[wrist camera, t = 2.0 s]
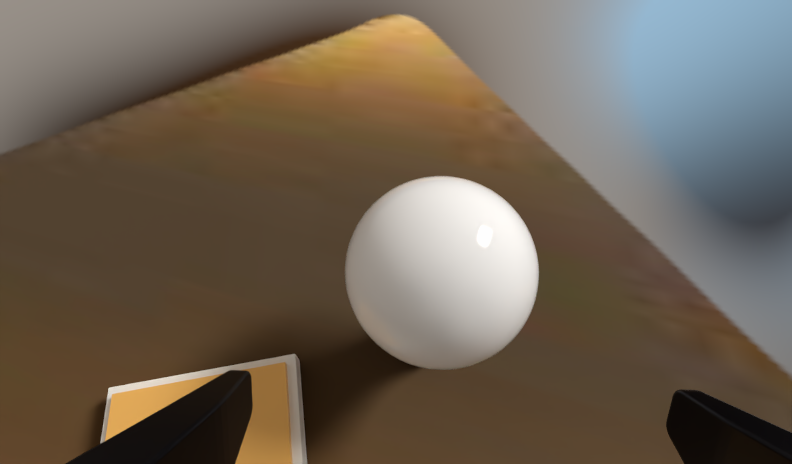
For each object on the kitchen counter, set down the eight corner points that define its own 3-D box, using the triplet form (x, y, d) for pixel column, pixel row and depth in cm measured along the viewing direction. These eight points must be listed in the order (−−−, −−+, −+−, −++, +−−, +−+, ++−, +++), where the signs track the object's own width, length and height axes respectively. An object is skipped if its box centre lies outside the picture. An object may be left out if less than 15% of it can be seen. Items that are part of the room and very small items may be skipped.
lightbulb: (451, 432, 18) (526, 387, 9) (332, 363, 20) (287, 260, 10) (501, 313, 21) (597, 185, 12) (394, 260, 23) (404, 108, 13)
